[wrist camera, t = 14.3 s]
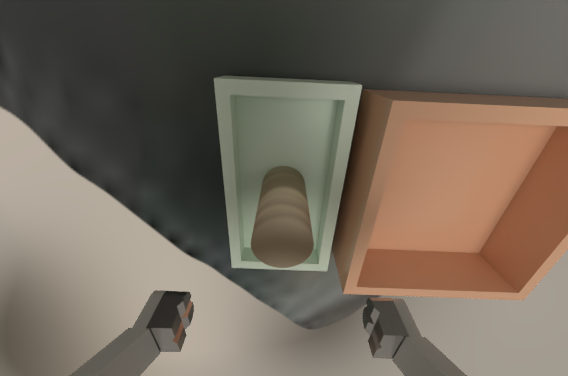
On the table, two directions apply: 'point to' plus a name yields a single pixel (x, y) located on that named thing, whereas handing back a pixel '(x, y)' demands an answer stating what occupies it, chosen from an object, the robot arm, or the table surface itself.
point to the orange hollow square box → (453, 195)
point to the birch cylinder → (282, 220)
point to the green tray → (284, 152)
